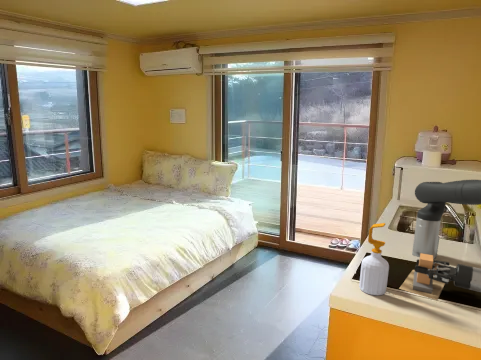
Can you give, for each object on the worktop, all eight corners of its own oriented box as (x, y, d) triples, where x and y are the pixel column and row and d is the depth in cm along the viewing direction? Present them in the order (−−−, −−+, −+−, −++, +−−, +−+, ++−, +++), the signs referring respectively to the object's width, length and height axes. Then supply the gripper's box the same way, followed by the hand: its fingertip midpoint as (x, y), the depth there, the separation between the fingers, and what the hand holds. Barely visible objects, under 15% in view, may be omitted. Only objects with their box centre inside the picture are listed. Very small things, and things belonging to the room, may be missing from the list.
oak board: (412, 273, 144) (412, 269, 144) (446, 282, 137) (447, 278, 137) (398, 292, 129) (399, 288, 129) (436, 304, 122) (437, 300, 121)
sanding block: (413, 274, 136) (417, 248, 132) (432, 278, 133) (436, 252, 129) (412, 289, 128) (416, 262, 124) (431, 293, 126) (436, 266, 122)
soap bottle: (383, 298, 124) (391, 229, 119) (356, 291, 129) (362, 224, 124) (388, 288, 132) (396, 222, 127) (362, 281, 136) (369, 217, 132)
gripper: (472, 260, 127) (418, 248, 135) (475, 276, 115) (415, 262, 122) (468, 279, 129) (415, 267, 136) (471, 298, 116) (412, 283, 124)
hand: (416, 265), depth 129 cm, fingers open, 5 cm apart
